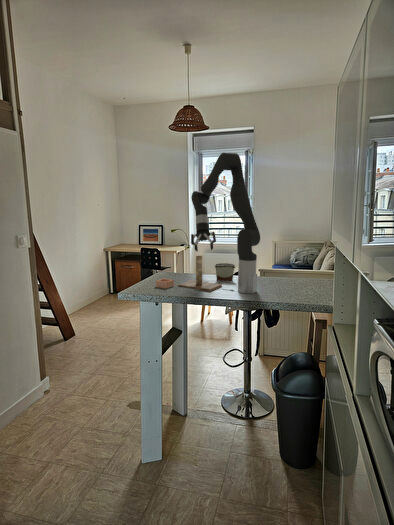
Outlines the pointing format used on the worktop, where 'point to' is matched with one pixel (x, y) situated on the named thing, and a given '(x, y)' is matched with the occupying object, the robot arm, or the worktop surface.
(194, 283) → the walnut board
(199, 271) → the birch dowel
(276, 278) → the worktop surface
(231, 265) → the food container
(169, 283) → the terracotta cup
